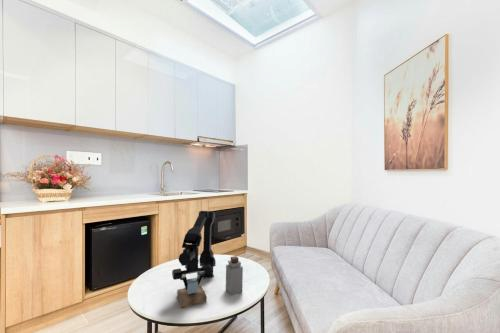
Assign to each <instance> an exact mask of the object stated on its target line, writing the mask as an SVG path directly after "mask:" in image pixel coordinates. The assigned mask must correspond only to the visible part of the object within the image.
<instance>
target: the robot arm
mask: <svg viewBox="0 0 500 333" xmlns="http://www.w3.org/2000/svg"><path fill="white" fill-rule="evenodd" d="M215 219H216V213H215V212H214V210H213V211H212V210H211V211H210V210H199V211H198V216H197V218H196V220H195V221H194V224H193V226H192V227H191V228H189V229H188V230H187V232H186V233H185V235H184V236H183V237H184V238H183V241H182V245H181V248H182V252H181V253H180V254H179V256H178V261H179V264H180V265H181V266H182V267H183V266H184V268H185V270H182V269H181V268H176V269H173V270H172V272H171V276H172V279H173V281H177V280H180V281H182V282H183V284H184V288H186V290H187V279H188V278H187V275H191V274H195V273H196V279H197V281H198V286H199V285H201V284H200V283H201V282H202V279H208V278H209V279H210V278H213V277H215V275H214V267H216V265H217V264H216V258H215V256H214V252H213V250H212V229H213V228H212V226H213V223H215ZM202 230H203V237H202ZM202 239H203V242H202ZM201 242H202V243H203V248H202V251H201V253H200V255H199V251H200V250H199V247H201Z"/></svg>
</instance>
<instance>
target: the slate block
mask: <svg viewBox="0 0 500 333" xmlns="http://www.w3.org/2000/svg"><path fill="white" fill-rule="evenodd" d="M186 291H187V294H192V293H196V292H198V281H197V277H193V278H187V290H186Z"/></svg>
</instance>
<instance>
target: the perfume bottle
mask: <svg viewBox="0 0 500 333" xmlns="http://www.w3.org/2000/svg"><path fill="white" fill-rule="evenodd" d="M241 264H242V262H241V261H240V260H239V257H238V256H236V255H235V256H230V259H229V260H227V264H225V291H226V292H227V294H228V296H230V297H232V296H236V295H240V294H243V282H244V281H243V280H244V279H243V278H244V277H243V276H244V275H243V274H244V271H243V270H244V268H243V265H241Z"/></svg>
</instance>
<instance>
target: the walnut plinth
mask: <svg viewBox="0 0 500 333" xmlns="http://www.w3.org/2000/svg"><path fill="white" fill-rule="evenodd" d="M176 292H177V293H176V294H177V295H176V296H177V299H178V302H179V305H180V309H184V308H187V307H193V306H197V305H201V304H205V303H207V298H208V297H207V294H206V293H205V290H204V289H203V287H202V285H201V284H199V286H198V292H196V293H192V294H187V291H186V288H185V287H184V288H183V287H182V288H179V289H177V291H176Z"/></svg>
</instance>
